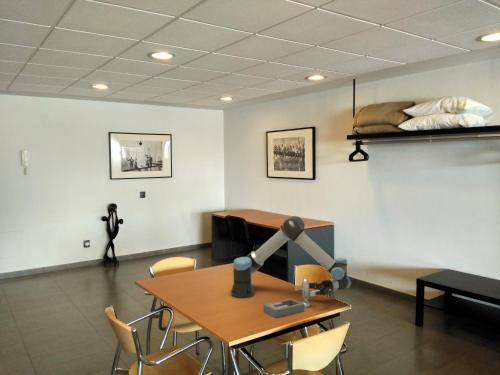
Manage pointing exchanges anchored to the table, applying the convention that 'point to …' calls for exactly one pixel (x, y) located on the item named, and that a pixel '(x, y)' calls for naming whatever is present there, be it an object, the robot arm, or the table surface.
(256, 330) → the table surface
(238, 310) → the table surface
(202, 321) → the table surface
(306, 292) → the steel peg
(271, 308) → the keyhole plate
